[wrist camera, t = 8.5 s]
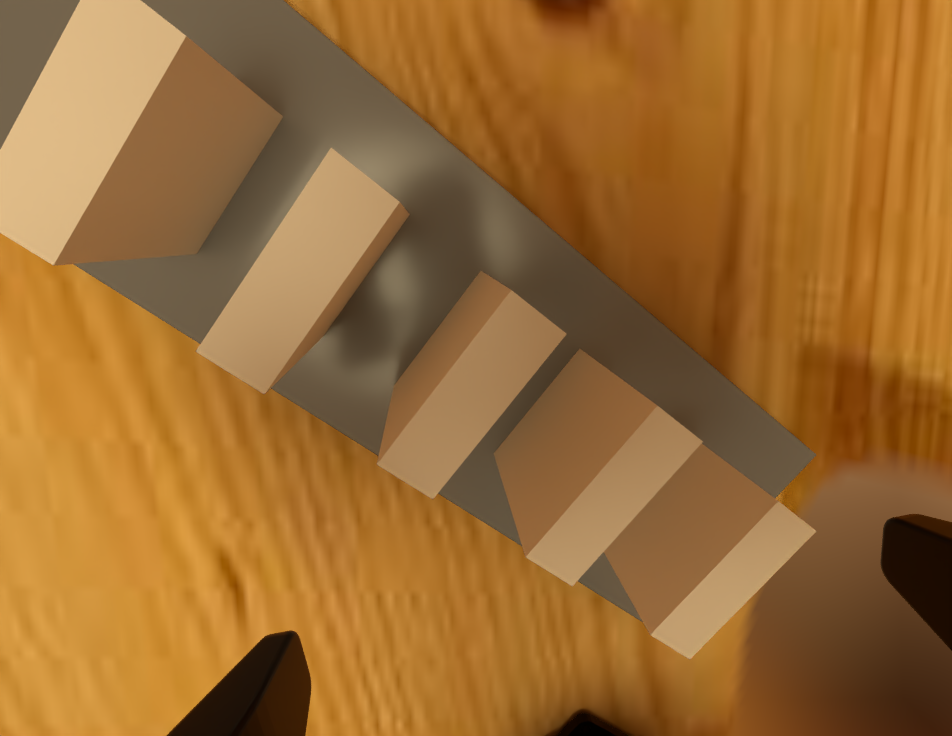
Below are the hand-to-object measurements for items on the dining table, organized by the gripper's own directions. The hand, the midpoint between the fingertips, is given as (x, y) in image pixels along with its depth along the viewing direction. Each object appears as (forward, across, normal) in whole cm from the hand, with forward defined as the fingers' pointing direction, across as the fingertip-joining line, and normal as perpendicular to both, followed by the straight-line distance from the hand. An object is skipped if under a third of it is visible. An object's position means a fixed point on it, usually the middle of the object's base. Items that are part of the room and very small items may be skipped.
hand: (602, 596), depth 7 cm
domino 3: (+10, +1, -2) cm, 11 cm away
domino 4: (+10, -2, +1) cm, 11 cm away
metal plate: (+11, +2, -3) cm, 12 cm away
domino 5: (+11, -5, +4) cm, 12 cm away
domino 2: (+10, +4, -5) cm, 12 cm away
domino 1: (+10, +8, -8) cm, 15 cm away
